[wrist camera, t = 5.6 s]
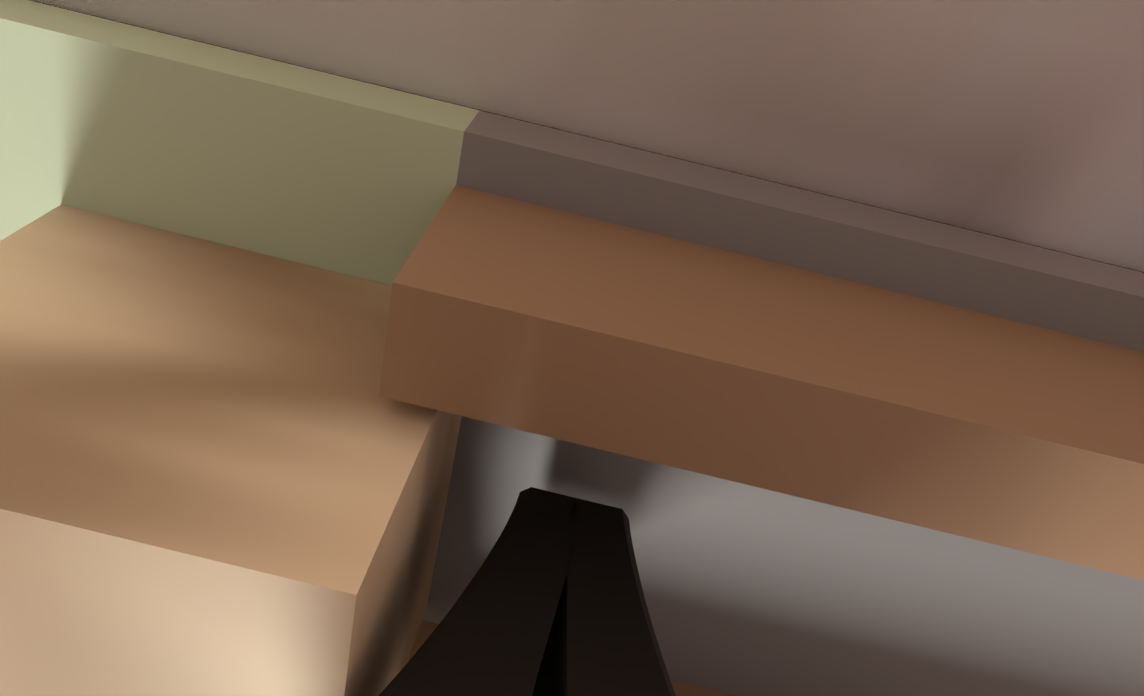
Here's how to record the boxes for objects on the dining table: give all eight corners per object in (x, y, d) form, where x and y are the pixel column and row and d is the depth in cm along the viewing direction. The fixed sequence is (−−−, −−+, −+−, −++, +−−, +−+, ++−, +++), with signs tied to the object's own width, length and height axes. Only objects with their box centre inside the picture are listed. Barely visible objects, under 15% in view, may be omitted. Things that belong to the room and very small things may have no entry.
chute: (1678, 402, 10) (2044, 616, 7) (1212, 845, 15) (1331, 1076, 12) (-220, -61, 10) (-567, -17, 7) (-81, 537, 15) (-258, 701, 12)
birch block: (482, 308, 10) (356, 594, 6) (427, 602, 13) (314, 935, 9) (60, 205, 10) (-318, 431, 6) (90, 521, 13) (-167, 818, 9)
